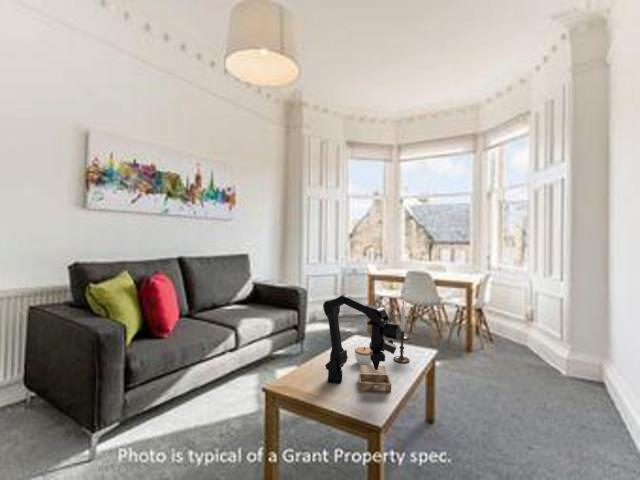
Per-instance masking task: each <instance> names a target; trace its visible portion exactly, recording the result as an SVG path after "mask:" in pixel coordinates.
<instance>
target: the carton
mask: <svg viewBox="0 0 640 480" xmlns="http://www.w3.org/2000/svg"><path fill="white" fill-rule="evenodd" d="M357 377H358V389H359V391H361V392H363V391H365V392H379V393H380V392H383V393H391V392H392V382H391V379H390V376H389V374H376V373H361V372H359V373H358V376H357ZM362 382H367V383H386V384H391V385H386V384H367V383H362Z"/></svg>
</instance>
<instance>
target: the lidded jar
mask: <svg viewBox="0 0 640 480" xmlns="http://www.w3.org/2000/svg"><path fill="white" fill-rule="evenodd" d="M371 351H372V350H371V349H370V348H369V346H367V347H366V346H359V347H355V349H354V357H355V360H356V362H357V364H358V365H359V366H360V365H370V364H372V363H373V362H372V361H371V359H370V352H371Z"/></svg>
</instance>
